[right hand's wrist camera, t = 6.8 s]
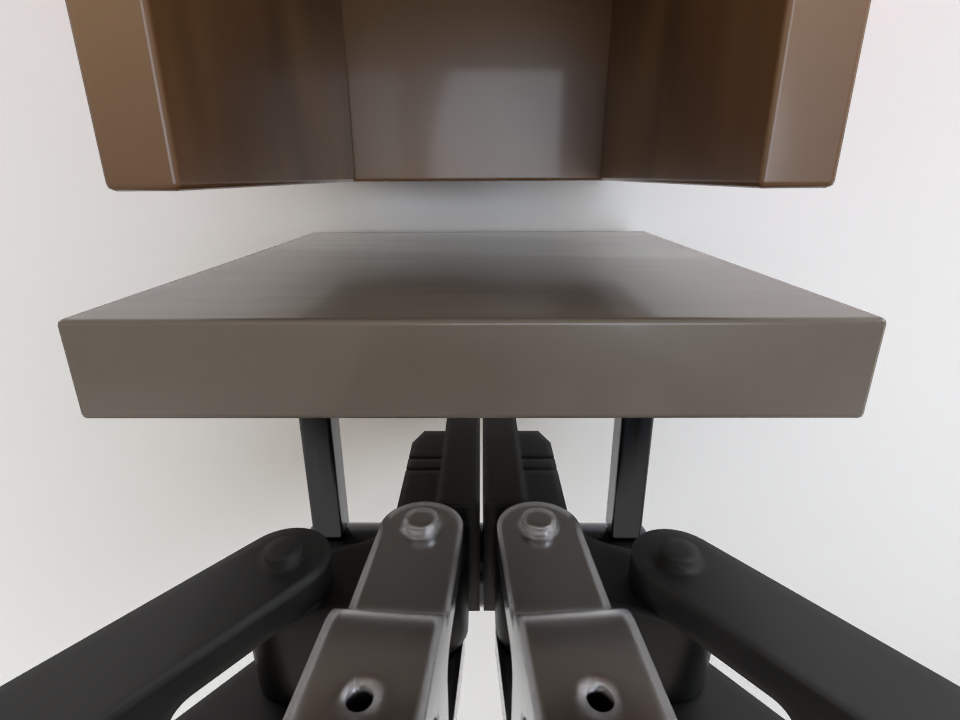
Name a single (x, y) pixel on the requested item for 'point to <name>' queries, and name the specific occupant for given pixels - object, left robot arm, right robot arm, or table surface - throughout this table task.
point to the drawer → (471, 255)
